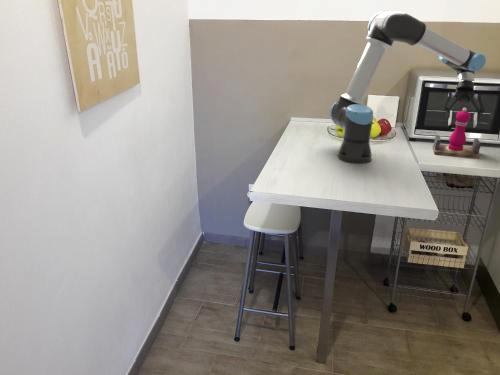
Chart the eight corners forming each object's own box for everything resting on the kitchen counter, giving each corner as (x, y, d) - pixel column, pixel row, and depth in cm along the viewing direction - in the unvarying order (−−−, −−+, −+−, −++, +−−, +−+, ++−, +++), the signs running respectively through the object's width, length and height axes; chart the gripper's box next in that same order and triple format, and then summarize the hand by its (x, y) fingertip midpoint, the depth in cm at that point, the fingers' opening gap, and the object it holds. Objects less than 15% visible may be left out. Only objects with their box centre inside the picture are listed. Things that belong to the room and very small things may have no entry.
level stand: (434, 154, 191) (436, 141, 188) (432, 146, 201) (434, 133, 198) (478, 158, 185) (482, 145, 182) (474, 150, 195) (477, 137, 193)
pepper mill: (465, 152, 188) (475, 110, 180) (449, 151, 190) (458, 109, 181) (461, 146, 195) (471, 106, 186) (445, 145, 196) (454, 105, 187)
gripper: (488, 90, 192) (487, 131, 185) (437, 87, 198) (434, 126, 191) (494, 80, 185) (492, 123, 178) (441, 78, 191) (437, 118, 184)
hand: (462, 125), depth 184 cm, fingers open, 10 cm apart
